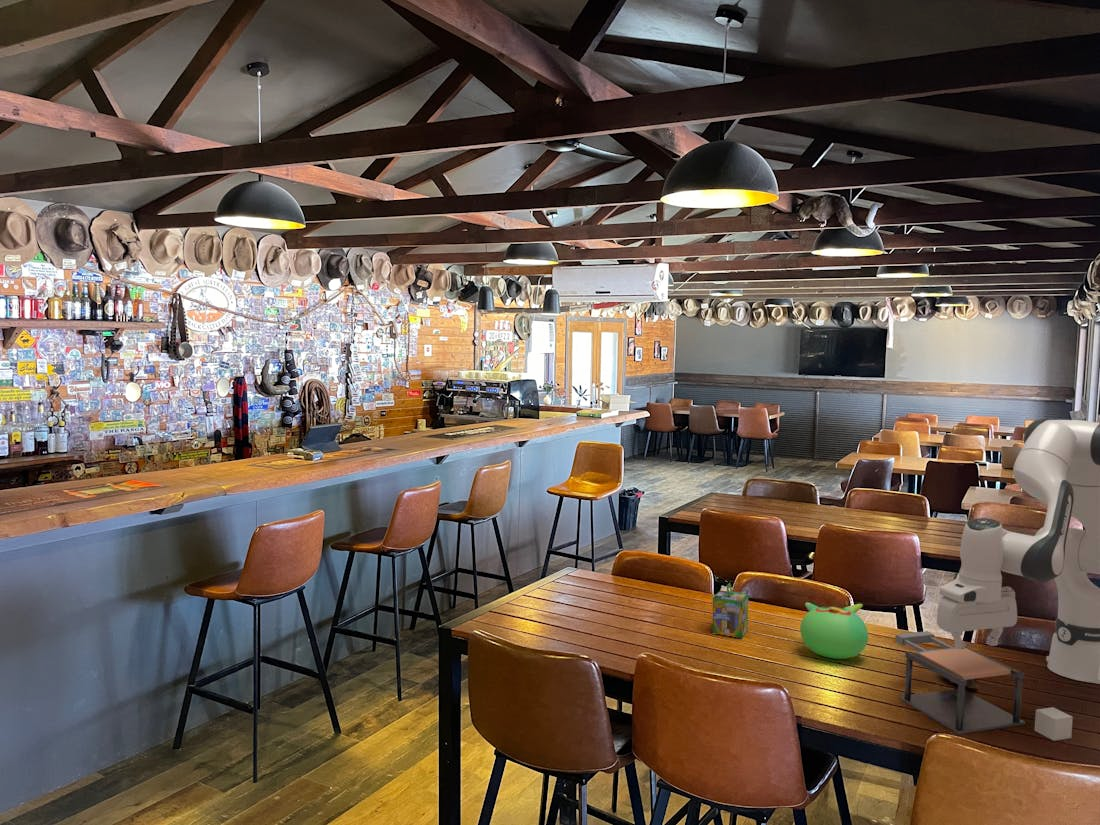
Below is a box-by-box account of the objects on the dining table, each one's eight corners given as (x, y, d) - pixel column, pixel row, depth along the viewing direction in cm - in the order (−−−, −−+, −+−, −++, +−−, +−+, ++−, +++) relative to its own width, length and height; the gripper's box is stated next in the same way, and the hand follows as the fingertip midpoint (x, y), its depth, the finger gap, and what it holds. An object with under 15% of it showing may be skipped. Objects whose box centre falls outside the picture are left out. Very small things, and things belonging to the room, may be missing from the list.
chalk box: (741, 639, 236) (743, 590, 235) (711, 634, 241) (712, 586, 239) (748, 630, 245) (750, 583, 244) (719, 625, 249) (720, 578, 248)
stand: (899, 698, 197) (901, 651, 197) (961, 690, 203) (964, 644, 202) (958, 734, 179) (961, 682, 178) (1025, 724, 185) (1028, 674, 184)
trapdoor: (887, 642, 205) (888, 635, 204) (933, 637, 209) (934, 630, 209) (961, 682, 182) (961, 673, 181) (1011, 676, 186) (1011, 667, 186)
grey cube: (1051, 728, 183) (1052, 707, 183) (1071, 738, 179) (1072, 716, 178) (1034, 730, 182) (1035, 709, 182) (1053, 741, 177) (1055, 719, 177)
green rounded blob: (797, 661, 220) (800, 609, 219) (800, 641, 236) (802, 592, 235) (867, 671, 214) (870, 618, 213) (866, 649, 230) (868, 600, 229)
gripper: (1003, 582, 191) (1000, 638, 192) (933, 587, 186) (930, 645, 187) (1026, 589, 185) (1022, 647, 186) (954, 596, 180) (951, 655, 181)
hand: (976, 646), depth 187 cm, fingers open, 8 cm apart
